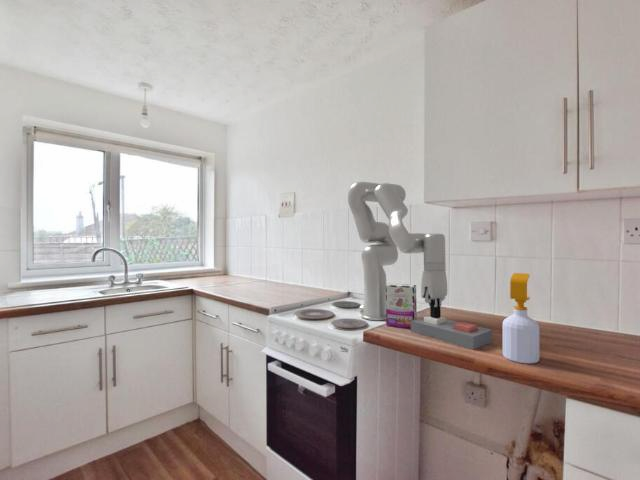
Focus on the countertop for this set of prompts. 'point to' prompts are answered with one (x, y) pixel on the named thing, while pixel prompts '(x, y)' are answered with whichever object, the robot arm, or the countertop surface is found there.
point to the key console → (452, 333)
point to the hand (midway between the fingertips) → (435, 317)
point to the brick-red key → (465, 327)
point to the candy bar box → (400, 305)
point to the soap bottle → (520, 326)
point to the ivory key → (434, 320)
